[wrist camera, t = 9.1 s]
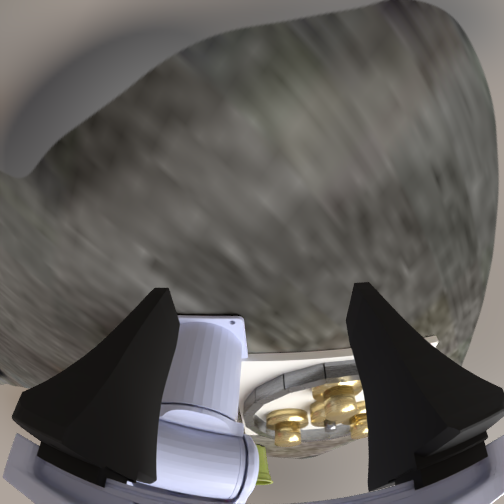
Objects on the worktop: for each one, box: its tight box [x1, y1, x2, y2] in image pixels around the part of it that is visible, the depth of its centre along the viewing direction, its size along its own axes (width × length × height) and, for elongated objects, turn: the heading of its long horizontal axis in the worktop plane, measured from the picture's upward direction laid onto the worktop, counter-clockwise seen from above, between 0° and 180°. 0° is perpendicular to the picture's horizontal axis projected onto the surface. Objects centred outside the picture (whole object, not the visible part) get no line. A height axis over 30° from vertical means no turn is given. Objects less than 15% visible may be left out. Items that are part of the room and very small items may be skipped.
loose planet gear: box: [312, 380, 362, 421], centre depth 27 cm, size 6×6×4 cm
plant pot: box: [255, 444, 273, 485], centre depth 43 cm, size 9×9×9 cm
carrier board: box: [238, 335, 439, 435], centre depth 33 cm, size 24×24×1 cm
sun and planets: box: [266, 400, 368, 447], centre depth 31 cm, size 17×9×4 cm, turn 93°
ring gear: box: [243, 360, 360, 442], centre depth 31 cm, size 22×22×2 cm
